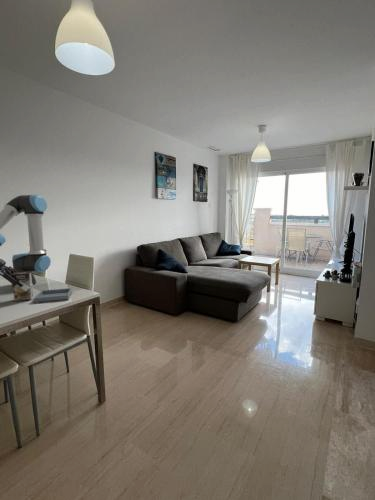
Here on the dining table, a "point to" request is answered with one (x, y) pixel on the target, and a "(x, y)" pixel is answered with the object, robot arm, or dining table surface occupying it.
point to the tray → (53, 295)
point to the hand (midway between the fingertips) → (29, 287)
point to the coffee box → (19, 292)
